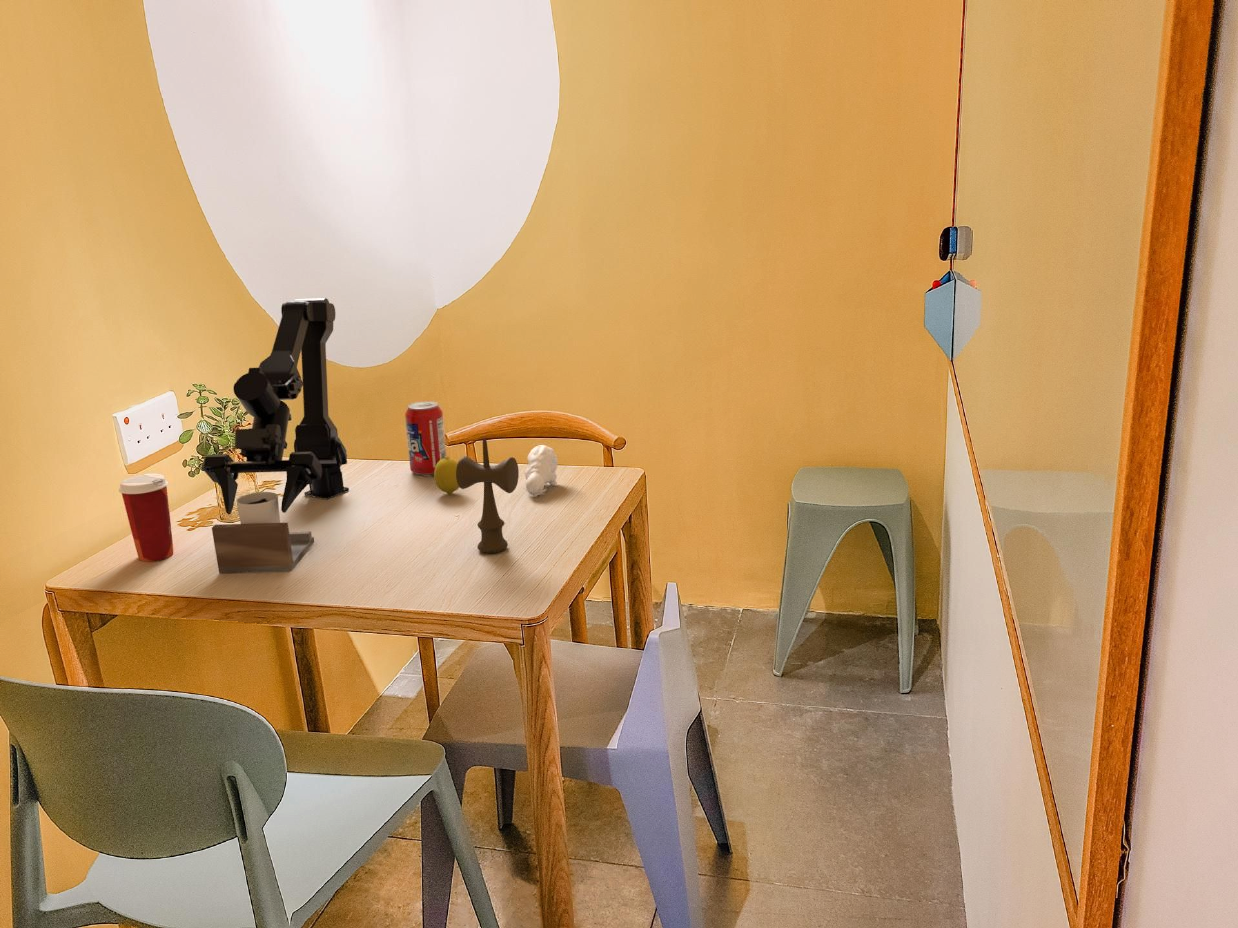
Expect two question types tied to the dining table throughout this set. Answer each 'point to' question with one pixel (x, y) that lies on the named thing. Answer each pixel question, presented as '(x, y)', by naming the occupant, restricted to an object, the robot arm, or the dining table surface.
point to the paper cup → (148, 515)
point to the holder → (259, 547)
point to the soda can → (425, 437)
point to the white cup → (258, 508)
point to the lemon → (446, 475)
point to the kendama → (489, 494)
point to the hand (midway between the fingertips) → (255, 512)
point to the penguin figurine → (540, 469)
